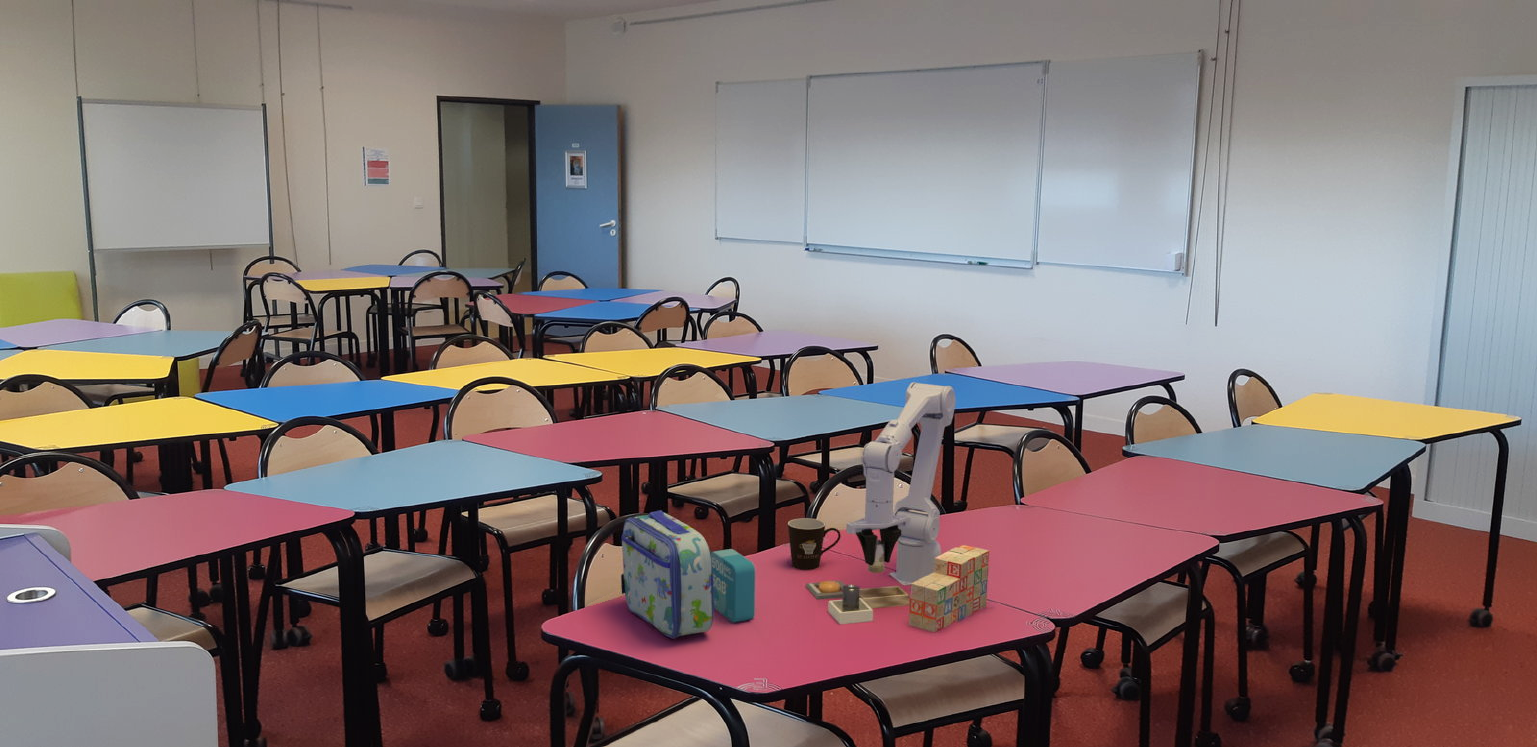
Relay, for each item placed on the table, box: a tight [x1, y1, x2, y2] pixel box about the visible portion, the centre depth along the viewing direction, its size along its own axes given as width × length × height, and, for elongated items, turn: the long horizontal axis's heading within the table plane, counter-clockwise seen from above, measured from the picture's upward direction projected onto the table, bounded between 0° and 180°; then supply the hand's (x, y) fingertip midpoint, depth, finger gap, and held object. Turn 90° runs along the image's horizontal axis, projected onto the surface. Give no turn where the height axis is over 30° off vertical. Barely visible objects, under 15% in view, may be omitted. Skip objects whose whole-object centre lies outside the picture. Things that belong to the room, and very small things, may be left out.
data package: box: [710, 548, 756, 623], centre depth 222 cm, size 12×4×12 cm, turn 27°
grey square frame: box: [805, 580, 846, 600], centre depth 235 cm, size 8×8×2 cm
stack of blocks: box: [908, 544, 990, 633], centre depth 223 cm, size 21×6×12 cm, turn 142°
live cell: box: [867, 538, 886, 574], centre depth 229 cm, size 3×3×6 cm
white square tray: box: [827, 598, 874, 625], centre depth 221 cm, size 7×7×3 cm
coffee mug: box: [787, 517, 842, 571], centre depth 252 cm, size 12×9×10 cm
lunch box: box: [620, 509, 715, 639], centre depth 217 cm, size 26×11×21 cm, turn 29°
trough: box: [859, 585, 910, 609], centre depth 229 cm, size 10×6×3 cm, turn 106°
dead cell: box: [841, 584, 861, 612], centre depth 221 cm, size 3×3×6 cm
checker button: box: [818, 580, 841, 593], centre depth 235 cm, size 4×4×2 cm
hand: (877, 562), depth 229 cm, fingers closed on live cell, 3 cm apart
